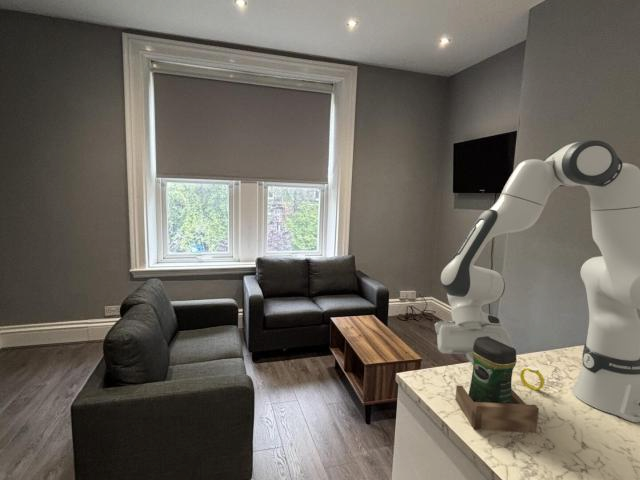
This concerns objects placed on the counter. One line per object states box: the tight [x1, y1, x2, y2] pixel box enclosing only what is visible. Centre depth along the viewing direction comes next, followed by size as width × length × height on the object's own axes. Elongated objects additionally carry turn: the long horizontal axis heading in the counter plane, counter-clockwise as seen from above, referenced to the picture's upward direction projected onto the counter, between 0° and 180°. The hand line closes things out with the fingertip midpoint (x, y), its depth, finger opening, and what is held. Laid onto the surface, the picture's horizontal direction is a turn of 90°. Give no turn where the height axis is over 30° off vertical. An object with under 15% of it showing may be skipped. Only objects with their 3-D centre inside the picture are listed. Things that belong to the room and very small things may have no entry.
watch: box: [519, 365, 545, 391], centre depth 98 cm, size 6×3×6 cm, turn 30°
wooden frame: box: [455, 385, 540, 434], centre depth 84 cm, size 14×12×6 cm
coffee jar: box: [468, 336, 517, 404], centre depth 85 cm, size 10×8×19 cm
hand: (480, 369), depth 92 cm, fingers closed
